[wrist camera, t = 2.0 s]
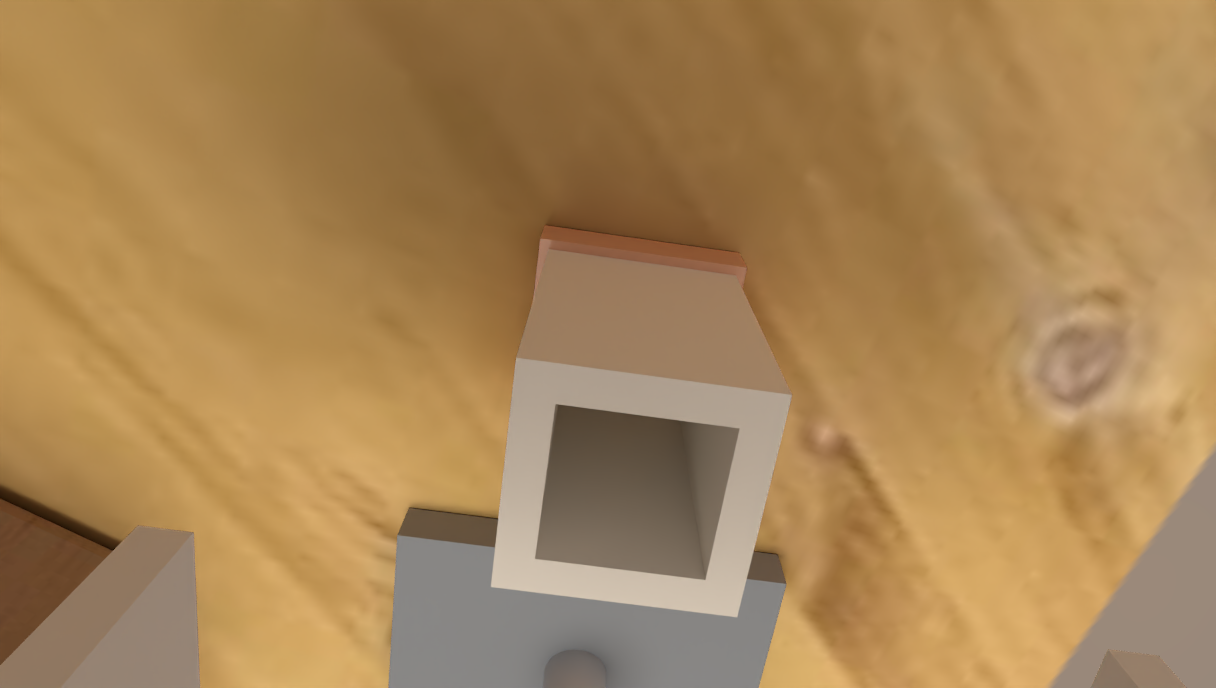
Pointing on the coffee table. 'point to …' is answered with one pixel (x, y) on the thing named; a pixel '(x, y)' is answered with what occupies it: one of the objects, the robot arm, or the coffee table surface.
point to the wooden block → (37, 571)
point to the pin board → (557, 624)
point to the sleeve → (638, 427)
